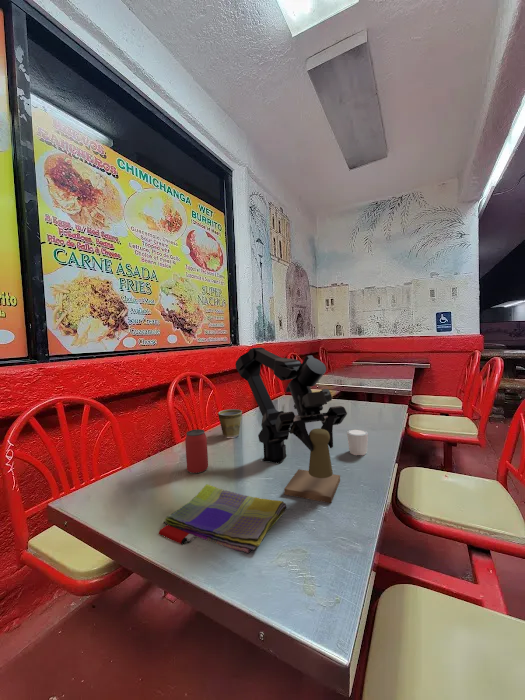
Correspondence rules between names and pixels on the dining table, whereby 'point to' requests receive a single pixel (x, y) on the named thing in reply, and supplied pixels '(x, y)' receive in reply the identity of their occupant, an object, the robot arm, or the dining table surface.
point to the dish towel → (227, 518)
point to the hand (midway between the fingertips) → (322, 448)
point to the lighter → (176, 534)
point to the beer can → (196, 451)
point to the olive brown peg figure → (320, 454)
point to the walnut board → (312, 486)
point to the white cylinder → (357, 441)
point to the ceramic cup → (230, 422)
